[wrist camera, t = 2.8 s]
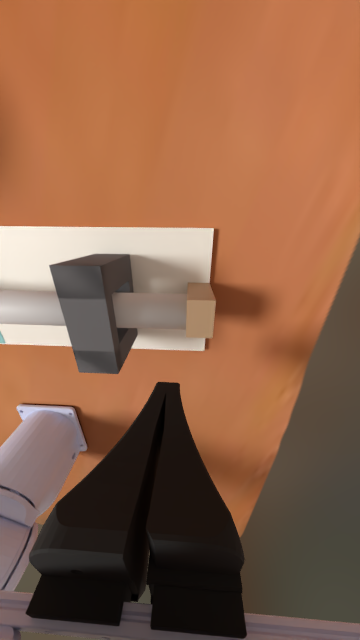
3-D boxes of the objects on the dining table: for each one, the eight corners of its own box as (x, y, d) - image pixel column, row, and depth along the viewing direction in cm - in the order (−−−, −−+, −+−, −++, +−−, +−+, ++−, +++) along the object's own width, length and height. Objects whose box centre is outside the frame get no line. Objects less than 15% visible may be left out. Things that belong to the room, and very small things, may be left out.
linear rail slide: (204, 348, 21) (208, 384, 16) (-70, 339, 22) (-142, 369, 17) (213, 228, 16) (223, 227, 11) (-145, 224, 17) (-278, 222, 12)
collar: (137, 334, 19) (118, 373, 14) (109, 333, 20) (79, 372, 14) (129, 254, 16) (99, 266, 11) (95, 253, 16) (49, 265, 11)
